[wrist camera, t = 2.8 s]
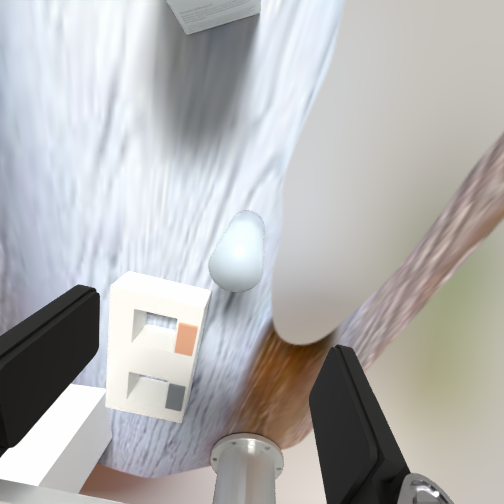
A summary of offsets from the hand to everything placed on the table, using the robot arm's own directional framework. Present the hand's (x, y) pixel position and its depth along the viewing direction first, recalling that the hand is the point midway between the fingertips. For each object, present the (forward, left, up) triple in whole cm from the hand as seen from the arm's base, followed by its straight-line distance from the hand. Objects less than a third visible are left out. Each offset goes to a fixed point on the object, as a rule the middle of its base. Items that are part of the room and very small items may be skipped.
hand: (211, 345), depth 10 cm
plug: (0, 0, -21) cm, 21 cm away
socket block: (-11, +18, -20) cm, 30 cm away
